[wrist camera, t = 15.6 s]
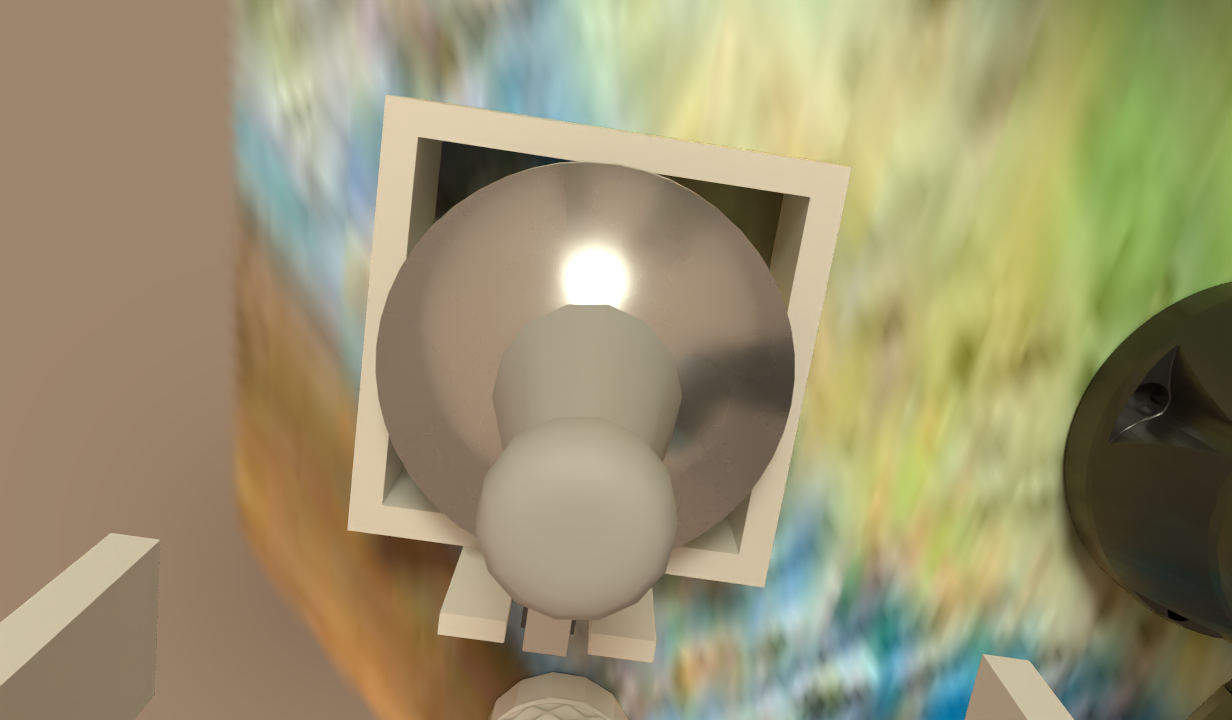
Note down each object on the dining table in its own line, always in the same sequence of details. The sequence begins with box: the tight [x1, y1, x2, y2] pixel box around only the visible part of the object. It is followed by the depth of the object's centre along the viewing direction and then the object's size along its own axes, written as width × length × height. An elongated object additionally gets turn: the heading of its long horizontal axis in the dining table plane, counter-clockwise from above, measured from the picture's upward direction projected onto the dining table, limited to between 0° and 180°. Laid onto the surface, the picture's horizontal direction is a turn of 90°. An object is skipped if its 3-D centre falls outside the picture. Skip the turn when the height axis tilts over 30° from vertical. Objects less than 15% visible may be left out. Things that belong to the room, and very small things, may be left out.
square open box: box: [348, 95, 851, 663], centre depth 34 cm, size 17×16×10 cm
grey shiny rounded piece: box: [375, 161, 795, 657], centre depth 35 cm, size 18×14×6 cm
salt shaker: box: [475, 304, 682, 620], centre depth 25 cm, size 6×6×13 cm
